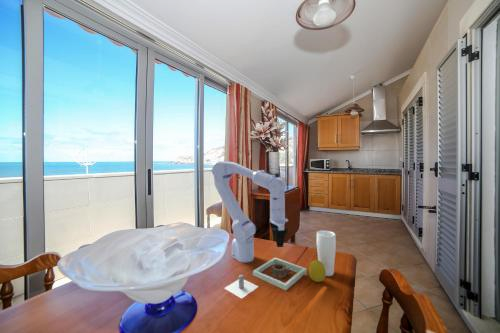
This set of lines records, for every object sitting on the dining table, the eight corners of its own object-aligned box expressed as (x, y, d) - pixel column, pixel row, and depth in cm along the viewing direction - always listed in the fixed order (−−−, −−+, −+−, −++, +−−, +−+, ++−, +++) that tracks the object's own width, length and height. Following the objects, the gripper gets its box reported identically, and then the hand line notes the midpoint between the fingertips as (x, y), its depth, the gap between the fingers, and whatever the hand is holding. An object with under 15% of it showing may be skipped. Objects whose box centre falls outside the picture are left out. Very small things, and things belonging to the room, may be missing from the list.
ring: (272, 279, 74) (272, 270, 74) (270, 271, 79) (270, 263, 79) (291, 278, 74) (291, 270, 74) (288, 270, 79) (288, 262, 79)
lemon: (326, 288, 69) (326, 264, 69) (309, 286, 70) (309, 262, 70) (324, 279, 74) (324, 256, 74) (308, 277, 75) (308, 255, 75)
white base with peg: (224, 291, 68) (223, 276, 68) (241, 280, 74) (240, 267, 74) (241, 301, 63) (241, 286, 63) (258, 289, 69) (258, 275, 69)
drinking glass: (316, 276, 76) (315, 235, 76) (317, 267, 83) (316, 229, 82) (336, 279, 74) (336, 237, 73) (335, 270, 80) (335, 231, 80)
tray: (252, 277, 76) (252, 271, 76) (274, 263, 86) (274, 257, 86) (286, 293, 67) (286, 285, 66) (306, 275, 77) (306, 268, 77)
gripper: (292, 212, 75) (292, 250, 76) (283, 204, 90) (283, 235, 90) (272, 213, 75) (273, 250, 75) (267, 204, 89) (267, 236, 90)
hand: (278, 242), depth 83 cm, fingers open, 7 cm apart
